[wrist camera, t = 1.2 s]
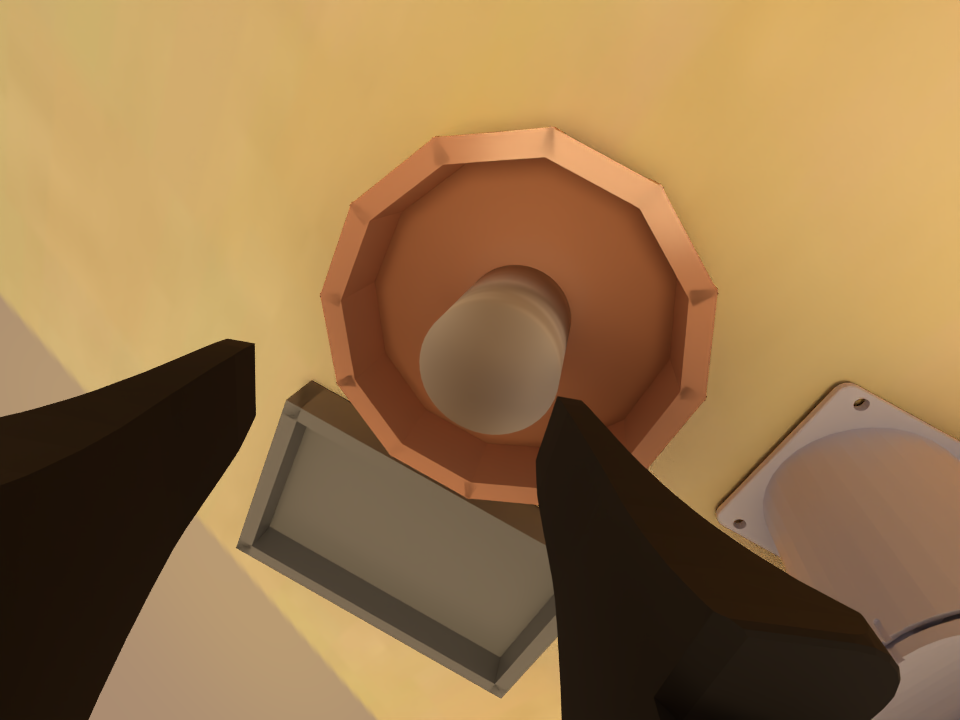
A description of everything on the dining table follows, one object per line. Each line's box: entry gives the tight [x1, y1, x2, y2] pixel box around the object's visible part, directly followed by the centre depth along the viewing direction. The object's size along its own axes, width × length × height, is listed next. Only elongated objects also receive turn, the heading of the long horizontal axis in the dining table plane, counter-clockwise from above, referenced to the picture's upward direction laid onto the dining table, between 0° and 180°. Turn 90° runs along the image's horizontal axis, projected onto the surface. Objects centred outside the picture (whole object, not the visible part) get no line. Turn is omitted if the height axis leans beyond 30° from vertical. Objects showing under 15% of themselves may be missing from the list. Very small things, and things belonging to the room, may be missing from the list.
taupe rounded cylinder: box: [419, 265, 571, 435], centre depth 18 cm, size 4×4×6 cm
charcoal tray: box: [236, 381, 558, 698], centre depth 26 cm, size 17×11×2 cm, turn 63°
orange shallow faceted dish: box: [320, 126, 718, 505], centre depth 19 cm, size 14×14×4 cm
